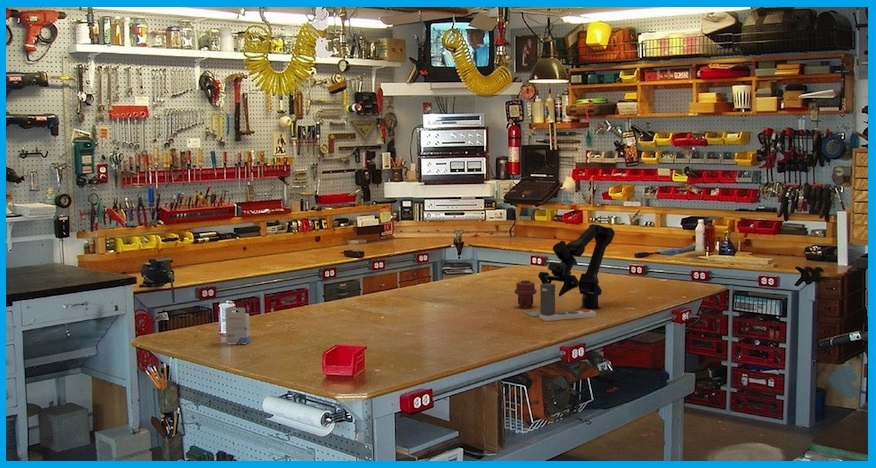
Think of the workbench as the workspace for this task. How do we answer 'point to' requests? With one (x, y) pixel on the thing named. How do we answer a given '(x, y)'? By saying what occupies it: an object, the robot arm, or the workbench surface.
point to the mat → (533, 314)
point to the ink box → (237, 326)
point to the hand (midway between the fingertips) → (550, 294)
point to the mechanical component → (525, 293)
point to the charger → (547, 299)
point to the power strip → (569, 315)
